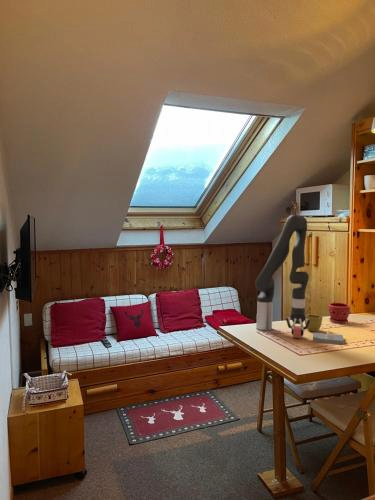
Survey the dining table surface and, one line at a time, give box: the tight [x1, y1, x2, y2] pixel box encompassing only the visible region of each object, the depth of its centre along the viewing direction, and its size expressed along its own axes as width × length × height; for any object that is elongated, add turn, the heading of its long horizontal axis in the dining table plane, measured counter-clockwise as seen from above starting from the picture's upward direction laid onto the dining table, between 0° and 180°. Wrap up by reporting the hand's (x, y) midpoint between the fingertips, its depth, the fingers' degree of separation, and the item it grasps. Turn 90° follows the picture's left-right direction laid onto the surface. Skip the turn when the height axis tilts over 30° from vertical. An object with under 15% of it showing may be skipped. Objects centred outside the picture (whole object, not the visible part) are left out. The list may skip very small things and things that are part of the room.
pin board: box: [312, 329, 345, 345], centre depth 224 cm, size 16×12×5 cm
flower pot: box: [304, 313, 323, 333], centre depth 245 cm, size 9×9×9 cm
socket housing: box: [292, 325, 302, 339], centre depth 229 cm, size 4×8×5 cm, turn 161°
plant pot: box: [328, 302, 351, 324], centre depth 265 cm, size 13×13×12 cm
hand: (297, 335), depth 229 cm, fingers closed on socket housing, 4 cm apart
